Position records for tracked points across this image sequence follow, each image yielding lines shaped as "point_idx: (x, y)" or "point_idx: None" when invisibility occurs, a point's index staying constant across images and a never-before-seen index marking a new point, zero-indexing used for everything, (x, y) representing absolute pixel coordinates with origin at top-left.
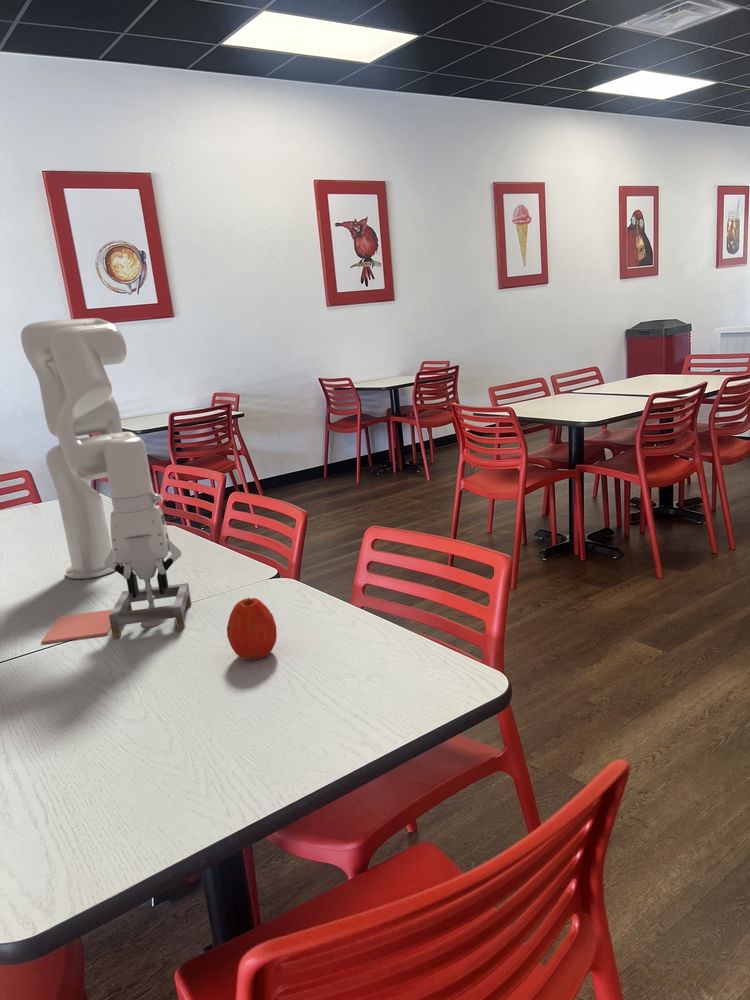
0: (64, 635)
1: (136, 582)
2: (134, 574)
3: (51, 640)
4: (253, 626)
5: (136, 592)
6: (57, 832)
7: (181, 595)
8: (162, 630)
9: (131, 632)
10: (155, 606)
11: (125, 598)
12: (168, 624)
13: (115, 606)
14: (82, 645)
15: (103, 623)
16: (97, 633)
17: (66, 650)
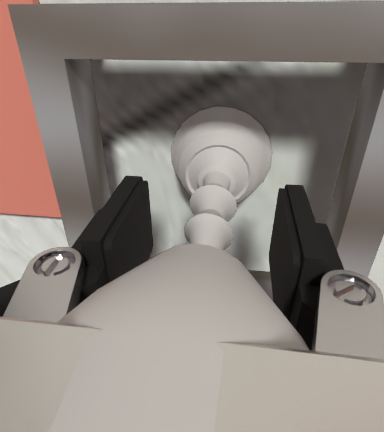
0: None
1: (130, 236)
2: (103, 257)
3: None
4: None
5: (147, 244)
6: None
7: (372, 222)
8: (256, 245)
9: (156, 222)
10: (232, 181)
11: (77, 144)
12: (275, 208)
13: (68, 227)
14: (37, 252)
15: (30, 137)
16: (50, 214)
17: (8, 264)
